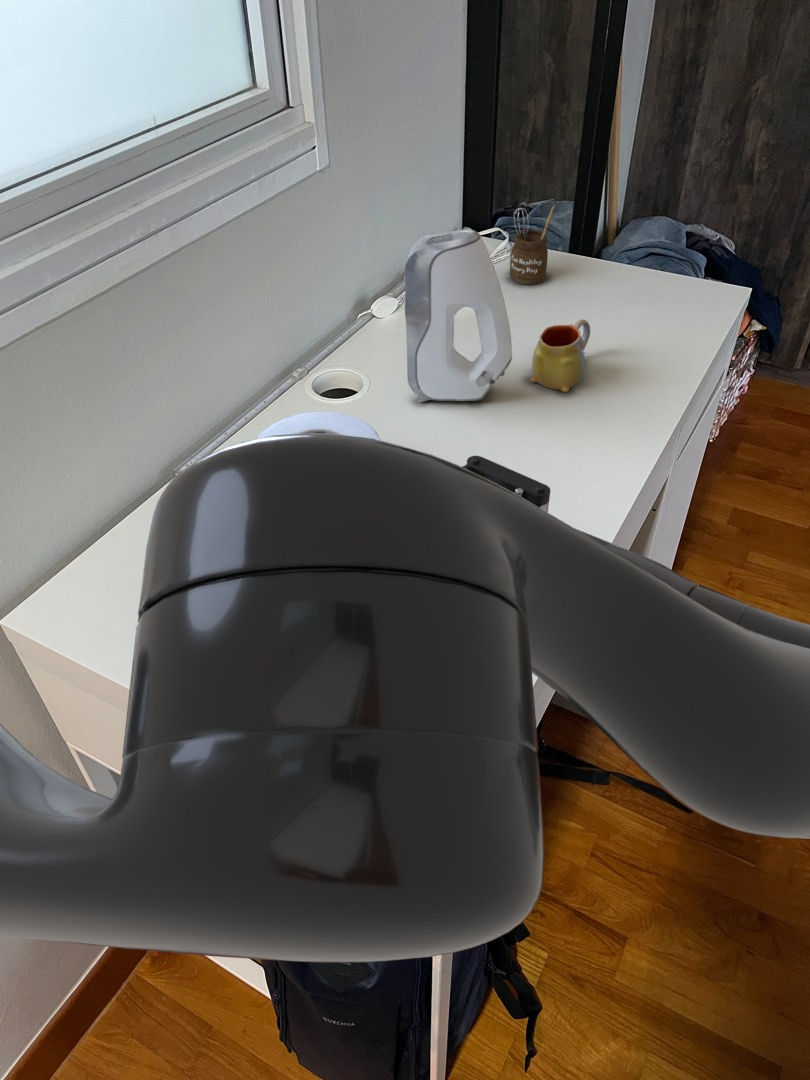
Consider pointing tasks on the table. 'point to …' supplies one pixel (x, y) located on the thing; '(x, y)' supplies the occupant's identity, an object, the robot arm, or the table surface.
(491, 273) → the jug
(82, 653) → the table surface
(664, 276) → the table surface
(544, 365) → the mug
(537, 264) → the utensil holder
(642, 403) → the table surface
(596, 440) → the table surface
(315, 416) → the tape roll
